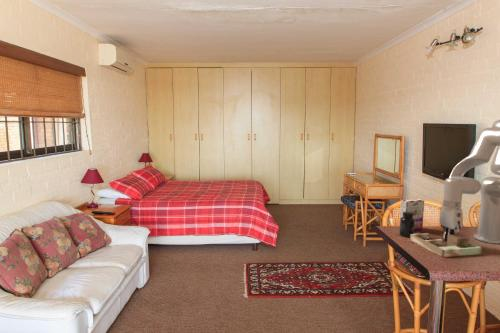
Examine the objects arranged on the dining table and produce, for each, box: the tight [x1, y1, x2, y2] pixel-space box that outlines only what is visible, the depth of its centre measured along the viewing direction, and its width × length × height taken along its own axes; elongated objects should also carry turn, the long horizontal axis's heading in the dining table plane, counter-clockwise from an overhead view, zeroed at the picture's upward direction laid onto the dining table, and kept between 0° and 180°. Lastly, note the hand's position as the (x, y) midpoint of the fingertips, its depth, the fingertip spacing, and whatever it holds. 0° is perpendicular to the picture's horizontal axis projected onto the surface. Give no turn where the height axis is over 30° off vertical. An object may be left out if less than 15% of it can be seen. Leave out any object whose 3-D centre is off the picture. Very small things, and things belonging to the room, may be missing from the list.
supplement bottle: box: [398, 212, 415, 238], centre depth 182 cm, size 7×7×12 cm
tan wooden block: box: [446, 233, 470, 248], centre depth 164 cm, size 6×6×6 cm
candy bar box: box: [399, 198, 425, 231], centre depth 193 cm, size 11×5×16 cm, turn 105°
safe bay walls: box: [439, 241, 483, 257], centre depth 161 cm, size 19×9×3 cm, turn 102°
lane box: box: [409, 232, 462, 258], centre depth 167 cm, size 20×22×3 cm
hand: (448, 241), depth 170 cm, fingers closed
